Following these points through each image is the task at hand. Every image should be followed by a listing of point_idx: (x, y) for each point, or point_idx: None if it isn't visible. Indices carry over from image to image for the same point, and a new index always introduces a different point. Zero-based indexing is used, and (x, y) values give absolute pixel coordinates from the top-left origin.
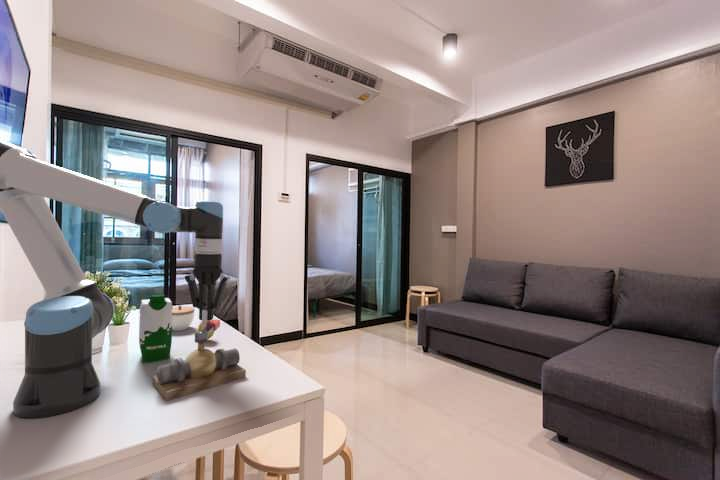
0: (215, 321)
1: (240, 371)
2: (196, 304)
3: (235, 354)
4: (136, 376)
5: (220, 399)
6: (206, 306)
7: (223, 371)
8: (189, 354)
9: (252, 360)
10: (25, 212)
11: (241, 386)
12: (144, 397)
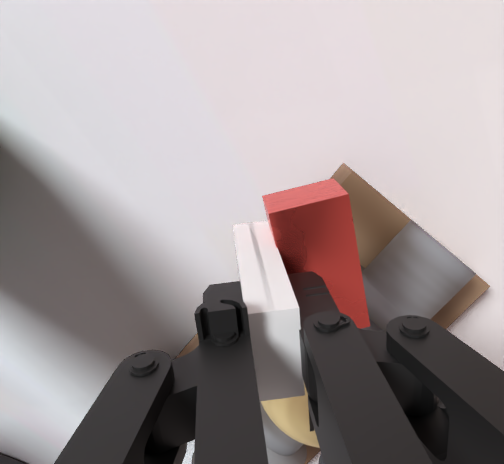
0: (332, 254)
1: (471, 303)
2: (182, 455)
3: (461, 288)
4: (34, 350)
5: None
6: (247, 324)
7: None
8: (287, 428)
9: (457, 84)
10: None
11: (478, 342)
12: None
